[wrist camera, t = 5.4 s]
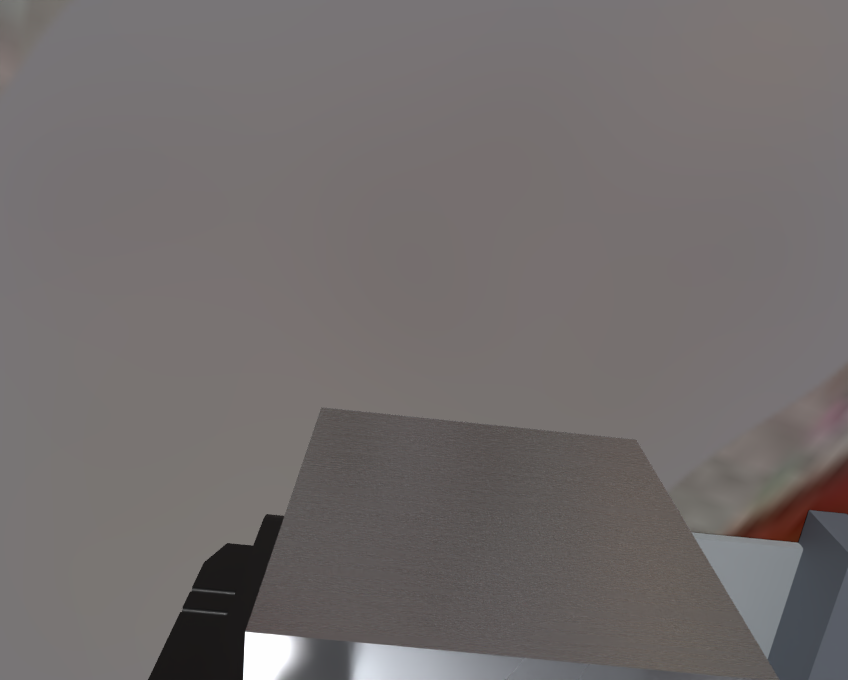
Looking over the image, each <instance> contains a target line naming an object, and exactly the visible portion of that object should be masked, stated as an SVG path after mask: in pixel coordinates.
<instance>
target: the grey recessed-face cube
mask: <svg viewBox="0 0 848 680" xmlns="http://www.w3.org/2000/svg"><path fill="white" fill-rule="evenodd" d="M243 680H779V678H778V676H777V675H776V673H775V671H774V670H773V668H772V666H771V665H770V663H769V661H768V660H767V658H766V656H765V655H764V653H763V651H762V650H761V648H760V646H759V645H758V643H757V641H756V640H755V638H754V636H753V635H752V633H751V631H750V630H749V628H748V626H747V625H746V623H745V621H744V620H743V618H742V616H741V615H740V613H739V611H738V610H737V608H736V606H735V604H734V603H733V601H732V599H731V598H730V596H729V594H728V593H727V591H726V589H725V588H724V586H723V584H722V583H721V581H720V579H719V578H718V576H717V574H716V573H715V571H714V569H713V568H712V566H711V564H710V563H709V561H708V559H707V558H706V556H705V554H704V553H703V551H702V549H701V548H700V546H699V544H698V543H697V541H696V539H695V538H694V536H693V534H692V533H691V531H690V529H689V527H688V526H687V524H686V522H685V521H684V519H683V517H682V516H681V514H680V512H679V511H678V509H677V507H676V506H675V504H674V502H673V501H672V499H671V497H670V496H669V494H668V492H667V491H666V489H665V487H664V486H663V484H662V482H661V481H660V479H659V477H658V476H657V474H656V472H655V471H654V469H653V467H652V466H651V464H650V462H649V461H648V459H647V457H646V455H645V454H644V452H643V450H642V449H641V447H640V445H639V444H638V442H637V440H634V439H624V438H615V437H605V436H595V435H585V434H576V433H566V432H556V431H545V430H537V429H526V428H517V427H506V426H497V425H488V424H478V423H477V424H476V423H468V422H458V421H448V420H439V419H429V418H419V417H409V416H400V415H390V414H380V413H370V412H361V411H350V410H341V409H331V408H321V410H320V413H319V416H318V419H317V422H316V425H315V428H314V431H313V434H312V437H311V440H310V443H309V445H308V449H307V451H306V454H305V457H304V460H303V463H302V466H301V469H300V472H299V475H298V478H297V481H296V484H295V487H294V490H293V493H292V495H291V498H290V501H289V504H288V507H287V510H286V513H285V516H284V519H283V522H282V525H281V528H280V531H279V534H278V537H277V540H276V543H275V545H274V548H273V551H272V554H271V557H270V560H269V563H268V566H267V569H266V572H265V575H264V578H263V581H262V584H261V587H260V590H259V593H258V596H257V598H256V601H255V604H254V607H253V610H252V613H251V616H250V619H249V622H248V625H247V628H246V631H245V649H244V677H243Z"/></svg>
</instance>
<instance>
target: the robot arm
mask: <svg viewBox="0 0 848 680" xmlns="http://www.w3.org/2000/svg"><path fill="white" fill-rule="evenodd" d="M283 519H284V516H280V515H269V514H267V515H266V516H265V517H264V519H263V522H262V525H261V527H260V530H259V532H258V535H257V538H256V540H255V543H254V545H253V546H251V545H240V544H230V543H227V544H226V545H225V546H223V547H222V548H221V549H220V550H219V551H217V552H216V553H215V554H214V555H213V556H211V557H210V558H209V559H208V560H207V561H205V562H204V564H203V566H202V568H201V570H200V572H199V574H198V576H197V578H196V580H195V583H194V585H193V587H192V592H190V593H189V595H188V597H187V599H186V601H185V604H184V606H183V610H182V612H180V614H179V616H178V618H177V620H176V622H175V625H174V627H173V629H172V631H171V633H170V635H169V637H168V639H167V641H166V643H165V645H164V648H163V650H162V652H161V654H160V656H159V658H158V660H157V662H156V664H155V667H154V669H153V671H152V673H151V675H150V677H149V679H148V680H243V677H244V649H245V631H246V628H247V625H248V622H249V619H250V616H251V613H252V610H253V607H254V604H255V601H256V598H257V596H258V593H259V590H260V587H261V584H262V581H263V578H264V575H265V572H266V569H267V566H268V563H269V560H270V557H271V554H272V551H273V548H274V545H275V543H276V540H277V537H278V534H279V531H280V528H281V525H282V522H283Z"/></svg>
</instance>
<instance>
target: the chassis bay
mask: <svg viewBox="0 0 848 680" xmlns="http://www.w3.org/2000/svg"><path fill="white" fill-rule="evenodd" d="M691 533H692V532H691ZM692 534H693V536H694V538H695V539H696V541H697V543H698V544H699V546H700V548H701V549H702V551H703V553H704V554H705V556H706V558H707V559H708V561H709V563H710V564H711V566H712V568H713V569H714V571H715V573H716V574H717V576H718V578H719V579H720V581H721V583H722V584H723V586H724V588H725V589H726V591H727V593H728V594H729V596H730V598H731V599H732V601H733V603H734V604H735V606H736V608H737V610H738V611H739V613H740V615H741V616H742V618H743V620H744V621H745V623H746V625H747V626H748V628H749V630H750V631H751V633H752V635H753V636H754V638H755V640H756V641H757V643H758V645H759V646H760V648H761V650H762V651H763V653H764V655H765V656H766V658H767V660H768V661H769V663H770V665H771V666H772V668H773V670H774V671H775V673H776V675H777V676H778V678H779V680H848V515H847V514H843V513H833V512H822V511H812V510H809V512H808V515H807V518H806V521H805V524H804V527H803V530H802V533H801V537H800V540H799V543H795V542H785V541H775V540H764V539H754V538H743V537H733V536H723V535H712V534H702V533H692Z"/></svg>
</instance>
